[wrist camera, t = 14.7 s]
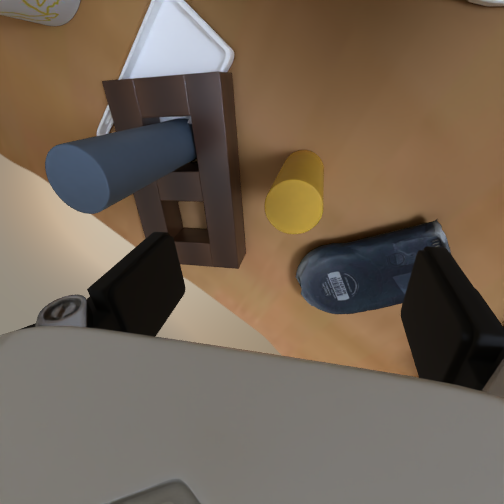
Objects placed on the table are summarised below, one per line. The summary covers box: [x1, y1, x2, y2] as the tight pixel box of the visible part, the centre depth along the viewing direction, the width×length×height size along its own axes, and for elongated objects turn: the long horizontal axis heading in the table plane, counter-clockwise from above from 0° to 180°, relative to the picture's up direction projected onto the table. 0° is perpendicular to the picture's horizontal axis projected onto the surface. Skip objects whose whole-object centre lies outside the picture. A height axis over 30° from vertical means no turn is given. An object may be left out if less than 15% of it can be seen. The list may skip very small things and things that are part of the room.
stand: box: [102, 71, 246, 269], centre depth 29 cm, size 11×18×4 cm, turn 4°
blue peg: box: [45, 118, 197, 214], centre depth 22 cm, size 4×4×15 cm
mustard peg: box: [265, 150, 324, 234], centre depth 23 cm, size 4×4×10 cm
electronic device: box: [296, 219, 451, 314], centre depth 30 cm, size 9×6×15 cm
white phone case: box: [97, 0, 234, 136], centre depth 26 cm, size 7×1×15 cm
